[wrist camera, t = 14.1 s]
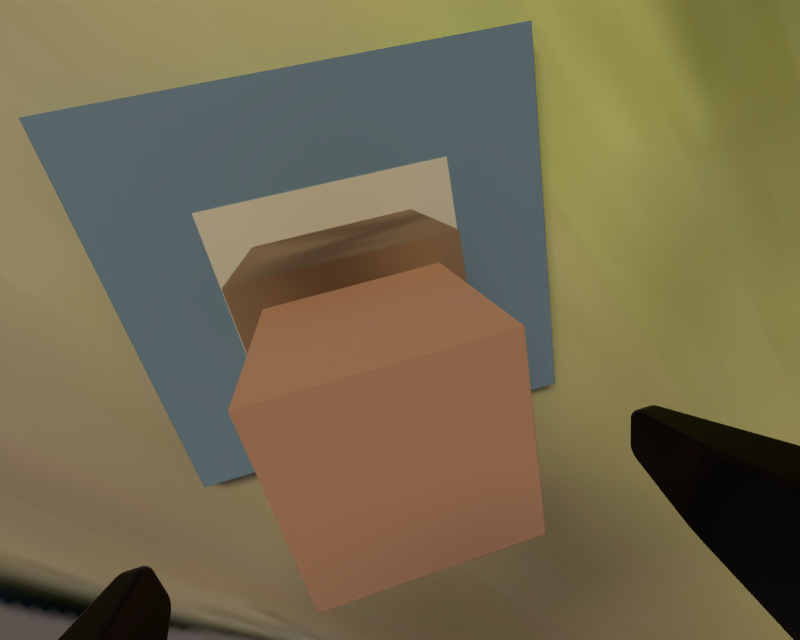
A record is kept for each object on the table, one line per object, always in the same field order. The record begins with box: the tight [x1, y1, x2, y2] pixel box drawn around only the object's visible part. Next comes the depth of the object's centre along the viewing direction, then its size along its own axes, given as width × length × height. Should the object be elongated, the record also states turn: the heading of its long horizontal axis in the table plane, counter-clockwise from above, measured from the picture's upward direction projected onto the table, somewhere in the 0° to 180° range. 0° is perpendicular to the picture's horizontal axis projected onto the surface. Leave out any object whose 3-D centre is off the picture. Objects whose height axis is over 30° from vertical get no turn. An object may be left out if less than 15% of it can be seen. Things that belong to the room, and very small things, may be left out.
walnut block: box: [222, 209, 467, 354], centre depth 15 cm, size 6×6×6 cm
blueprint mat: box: [19, 21, 555, 487], centre depth 18 cm, size 18×16×1 cm
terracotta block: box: [228, 263, 546, 613], centre depth 10 cm, size 5×5×5 cm
